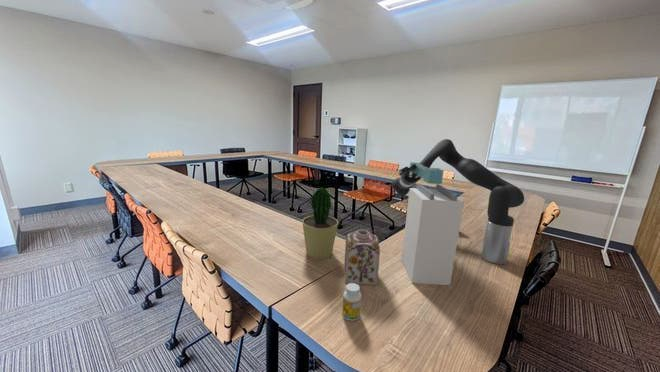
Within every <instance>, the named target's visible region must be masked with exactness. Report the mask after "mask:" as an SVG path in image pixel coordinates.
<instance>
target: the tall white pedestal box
mask: <svg viewBox="0 0 660 372" xmlns="http://www.w3.org/2000/svg"><path fill="white" fill-rule="evenodd" d="M407 202H408V203H407V208H406V209H407V210H406V218H405V227H404V236H403V241H402V242H403V243H402V252H401V253H402V254H401V259H400V260H401V261H400V262H401V264H402V266H403V267H404V270H405V272H406V275H407V276H408V278H409V280H410V283H411V284H424V285H438V286H440V285H442V286H451V283H452V282H451V281H452V276H453V275H452V274H453V269H454V264H455V258H456V252H457V246H458V240H459V235H460V229H461V228H460V227H461V222H462V217H463V210H464V205H465V201H464V200H463V199H461V198H460V197H459V196H458V195H457V194H456V193H455V192H453V191H451V190H449V189H448V188H447V187H444V186H443V185H442V184H435V189H434V188H426V187H425V186H424V185H422V184H421V183H416V188H415V187H412V188H410V191H409V192H408V201H407Z"/></svg>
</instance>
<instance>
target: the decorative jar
mask: <svg viewBox="0 0 660 372" xmlns="http://www.w3.org/2000/svg"><path fill="white" fill-rule="evenodd" d="M380 248H381V247H380V243H379V238H378V236H377V235H376V234H373V233H371V232H370V231H368V230H366V229H358V230H356V231H353V232H349V233H347V234H346V237H345V250H344V283H345V284H346V285H347V284H349V283H355V284H357V285H365V284H367V285H370V286H377V285H378V279H379V269H380V255H381V253H380V252H381V251H380V250H381V249H380Z"/></svg>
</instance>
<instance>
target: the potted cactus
mask: <svg viewBox="0 0 660 372" xmlns="http://www.w3.org/2000/svg"><path fill="white" fill-rule="evenodd" d="M311 195H312V196H309V197H310V204H311V205H310V207H311V210H310V211H312V212H313V213H311V214H312V215H309V216H306V217H304V218H302V221H301V222H302V229H303V237H304V238H303V239H304V244H305V253H306V255H307V256H308V257H309V258H311V259H316V260H325V259H328V258H330V257H331V256H332V253H333V250H334V246H335V245H334V244H335V240H336V236H337V231H338V226H339V225H338V224H339V220H338V219H336V218H335V217H334V216H333V217H332V216H329V215H330V210H333V208H332V198H331V196H332V193H330V192H328V189H327V188H324V187H319V188H318V189H316V190H315V191H314V192H313V191H312V194H311Z"/></svg>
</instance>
